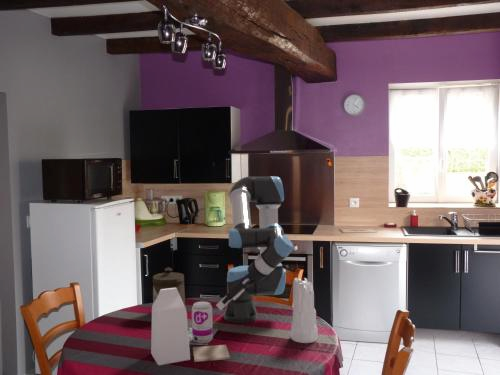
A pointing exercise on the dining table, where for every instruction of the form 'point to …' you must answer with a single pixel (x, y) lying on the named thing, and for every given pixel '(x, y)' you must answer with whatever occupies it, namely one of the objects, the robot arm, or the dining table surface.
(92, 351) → the dining table surface
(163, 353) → the milk
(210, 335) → the supplement can
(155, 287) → the wooden container
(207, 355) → the beige cloth
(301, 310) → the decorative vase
